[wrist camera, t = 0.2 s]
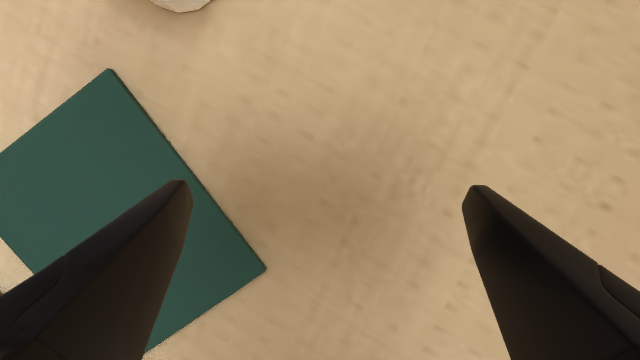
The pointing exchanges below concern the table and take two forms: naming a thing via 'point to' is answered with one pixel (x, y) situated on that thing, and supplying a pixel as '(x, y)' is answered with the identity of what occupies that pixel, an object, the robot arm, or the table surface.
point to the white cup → (181, 4)
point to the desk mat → (114, 197)
